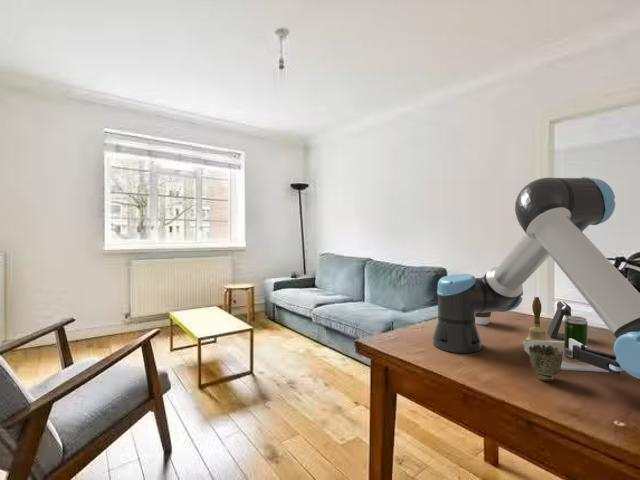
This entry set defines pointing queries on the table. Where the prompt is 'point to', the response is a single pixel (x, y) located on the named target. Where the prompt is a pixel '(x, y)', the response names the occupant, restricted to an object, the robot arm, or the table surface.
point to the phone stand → (558, 321)
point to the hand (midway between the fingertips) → (598, 343)
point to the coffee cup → (482, 318)
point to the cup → (545, 361)
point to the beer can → (575, 334)
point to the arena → (565, 363)
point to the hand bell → (536, 323)
